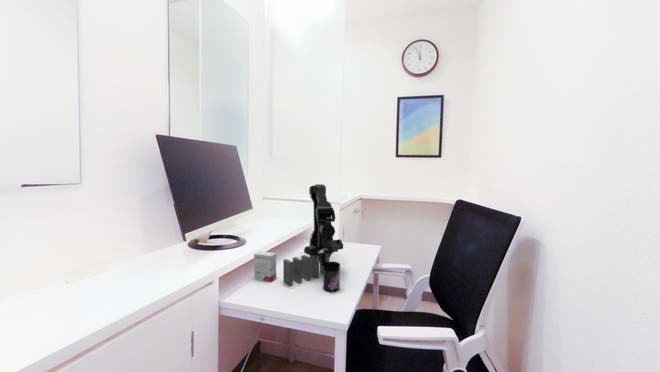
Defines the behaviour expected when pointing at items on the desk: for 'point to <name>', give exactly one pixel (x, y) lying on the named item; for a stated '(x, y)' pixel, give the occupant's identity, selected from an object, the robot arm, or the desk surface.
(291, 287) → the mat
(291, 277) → the domino
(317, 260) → the domino
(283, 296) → the desk surface
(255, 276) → the ink box
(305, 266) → the domino
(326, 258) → the domino
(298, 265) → the domino
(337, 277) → the supplement container
